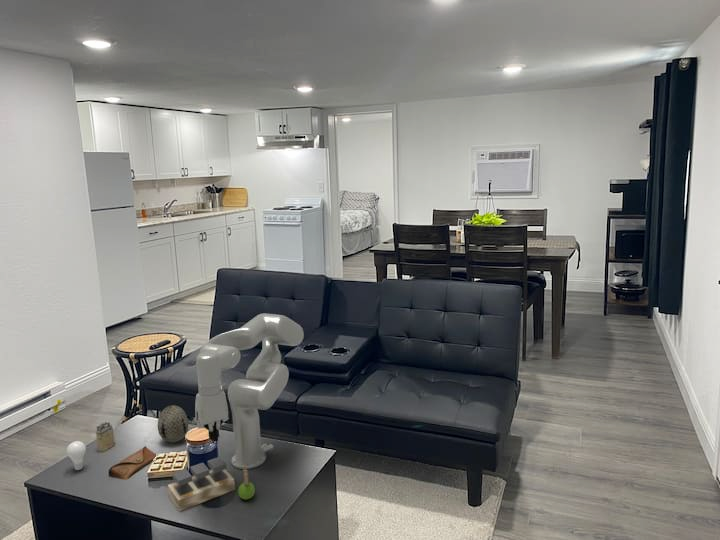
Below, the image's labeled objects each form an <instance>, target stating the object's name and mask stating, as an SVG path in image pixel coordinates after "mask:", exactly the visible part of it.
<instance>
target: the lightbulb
mask: <svg viewBox="0 0 720 540" xmlns="http://www.w3.org/2000/svg"><path fill="white" fill-rule="evenodd" d="M86 451H87V447H86V444H85V442H83V441H81V440H80V441H79V440H75V441H72V442H71V443H69V444H68V446H67V448H66V455H67V456H68V458H69V459H71V462H72V463H73V465H74V470H75V471H80V470H82V469H83V467H84V465H83V460H84V456H85V454H86Z"/></svg>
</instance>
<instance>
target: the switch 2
mask: <svg viewBox="0 0 720 540" xmlns="http://www.w3.org/2000/svg"><path fill="white" fill-rule="evenodd" d="M206 462H207V467H209V468H208V469H209V470H212V471H213V472H214V473H216V472H220V471H222V470H227V469H228V467H227V463H226V462H225V460H223V459H222V458H221V457H220V456H218V457H214V458H212V459H209V460H207V461H206Z"/></svg>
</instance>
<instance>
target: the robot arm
mask: <svg viewBox="0 0 720 540" xmlns="http://www.w3.org/2000/svg"><path fill="white" fill-rule="evenodd" d="M304 335H305V334H304V330H303V327H302V326H301V325H300V324H298V323H297V322H295V321H294V320H292V318H289V317H287V316H286V315H282V314H275V313H264V312H263V313H260V314H258V315H256V316H255V317H253V318H251V320H249V321H248V322H247V323H245V324H244V325H242V326H241V327H240V328H236V329H232V330H229V331H226V332H223V333H219V334H217V335H215V336H214V337H212V338H210V339H209V340H208V341H206V342H205V343H204V344H203V345H202V346H201V348H200V350H199V353H198V354H197V355H196V359H195V361H196V362H195V363H196V375H197V385H198V393H196V396H195V402H194V403H195V406H194V407H195V408H194V410H195V411H194V412H195V413H194V414H195V421H197V422H196V427H197V428H198V429H205V430H208V432H207V433H208V438H209V440H211V441H212V443H215V442H219V437H220V428H221V425H222V424H223V423H224V422H226V421H228V420H229V419H230V417H229V407H228V402H229V405H230V410H231V414H232V415H231V417H232V429H233V441H234V451H235V454H234V455H233V456H232V457H231V464H232V466H233V467H235V468H237V469H241V470H243V469H244V468H246V469H247V470H249V469H254V468H257V467H259V466H261V465H263V464H264V463H265V461H267V460H266V459H267V454H266V453H267V452H269V451H272V450H274V445H273V444H269V445H268V443H263V444H262V442H261V426H260V425H261V424H260V415H259V411H258V410H269V409H270V408H272V406H273V405H274V403H275V402H276V401H277V399H278V398H279V396H280V395H281V393H282V392H283V391H284V388H286V386H287V383H288V381H289V376H290V375H289V374H290V373H289V372H290V371H289V368H288V367H287V366H286V365H285V364H283V363H281V362H282V361H281V360H282V354H281V351H280V350H279V345H282V346H290V347H296V346H299V345H300V344H302V343H303V340H304ZM261 342H262V347H261V348H262V349H261V352H260V353H259V354H258V355H257V357H256V358H255V359H254V361H253V362H252V363H251V364H250V366H249V367H248V369H247V371H246V373H245V376H246V377H245V379H244V378H242V379H241V378H240V379H235V380H234V381H233V380H232V381H231V383H230V384H229V386H228V389H227V397H226V393H225V390H224V389H223V388H224V387H225V386H226V381H224V382H223V381H222V372H223V371H226V370H230V369H232V368H233V369H234V368H235V367H236V366H237V365H238V364H239V362H240V361H241V355H242V354H241V351H243V350H249V349H252V348H254V347H256V346H257V345H258V344H259V343H261ZM227 399H228V401H227Z"/></svg>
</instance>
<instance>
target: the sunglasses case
mask: <svg viewBox="0 0 720 540" xmlns="http://www.w3.org/2000/svg"><path fill="white" fill-rule="evenodd" d="M156 455H157V454H156V453H155V452H153V451H152V450H151V449H149V448H148V447H147V446H146V445H144V447H143V448H140V449H139V450H138V451H136V452H134V453H132V454H131V455H129V456H127V457H126V458H124V459H123V460H121V461H119V462H118V463H116V464H114V465H112V466H111V467H110V468H109V470H108V472H107V473H108V477H110V478H114V479H119V480H124V481H127V480H128V479H130V478H131V477H132V476H134V475H135V474H136V473H137V472H140V471H141V470H142V469H144V468H145V467H147V466H148V465H150V464H151V462H152V461H153V459H154V458H155V457H156ZM153 462H154V461H153ZM153 462H152V463H153Z"/></svg>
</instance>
